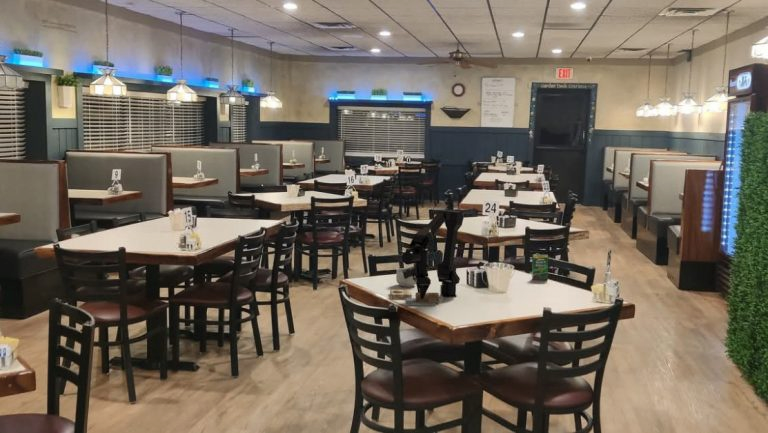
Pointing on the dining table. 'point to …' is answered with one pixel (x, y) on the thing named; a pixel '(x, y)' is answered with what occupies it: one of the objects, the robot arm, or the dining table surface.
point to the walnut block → (428, 297)
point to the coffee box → (540, 267)
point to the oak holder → (400, 294)
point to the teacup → (402, 281)
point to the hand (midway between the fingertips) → (420, 296)
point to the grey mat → (413, 302)
